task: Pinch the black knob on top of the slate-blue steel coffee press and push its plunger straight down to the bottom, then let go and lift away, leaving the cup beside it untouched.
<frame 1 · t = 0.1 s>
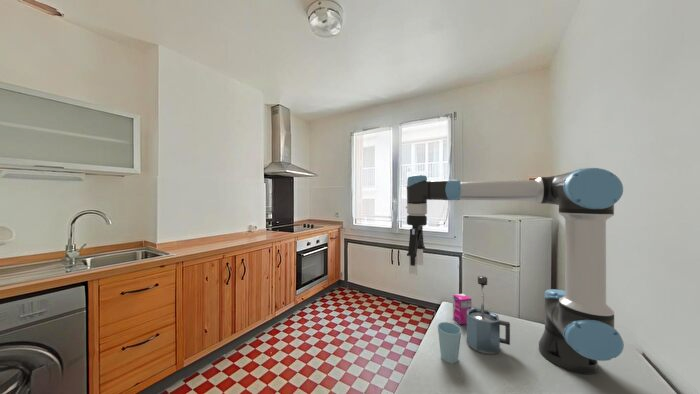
hand: (416, 269, 91), 28 cm above the table, fingers open, 13 cm apart
cup: (449, 358, 81), on the table
supplement box: (462, 322, 106), on the table
press carafe: (482, 345, 88), on the table
plunger: (482, 298, 88), point 18 cm above the table, slide at 0.0 cm
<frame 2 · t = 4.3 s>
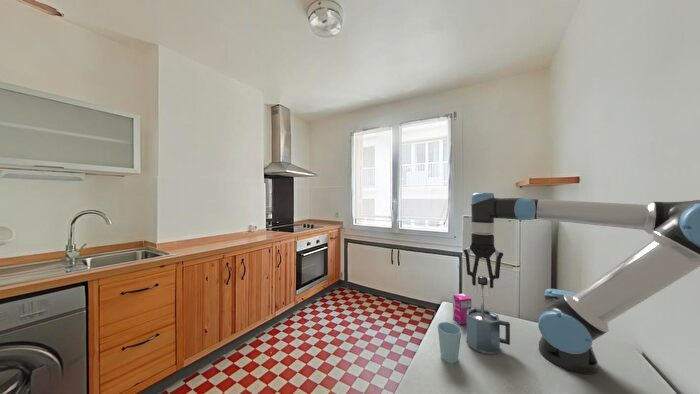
hand: (482, 294, 89), 19 cm above the table, fingers closed on plunger, 3 cm apart
plunger: (482, 298, 88), point 18 cm above the table, slide at 0.0 cm, touching gripper
everything else where it was.
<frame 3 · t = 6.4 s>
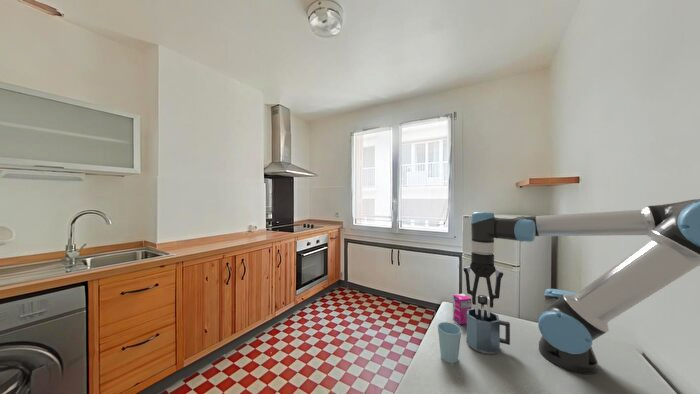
hand: (482, 314, 88), 12 cm above the table, fingers closed on plunger, 3 cm apart
plunger: (482, 317, 88), point 11 cm above the table, slide at 7.3 cm, touching gripper
everything else where it was.
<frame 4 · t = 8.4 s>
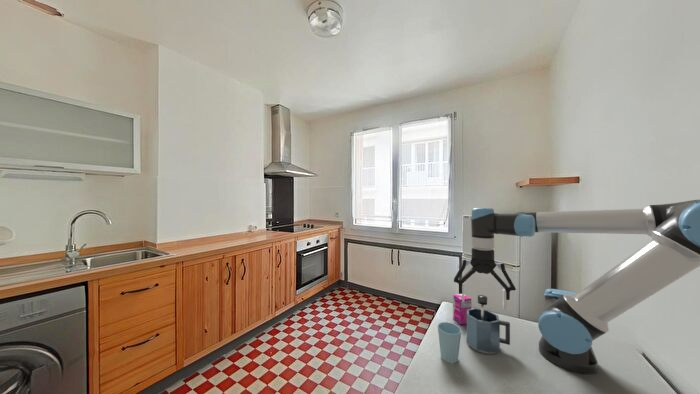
hand: (483, 304, 88), 16 cm above the table, fingers open, 13 cm apart
plunger: (482, 317, 88), point 10 cm above the table, slide at 7.3 cm
everything else where it was.
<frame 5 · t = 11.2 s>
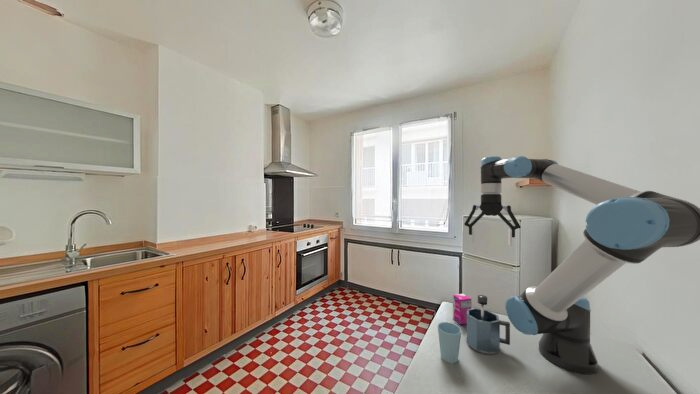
hand: (490, 243, 99), 37 cm above the table, fingers open, 13 cm apart
nothing on the table moved.
at the end: plunger slide at 7.3 cm; the gripper is holding nothing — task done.
